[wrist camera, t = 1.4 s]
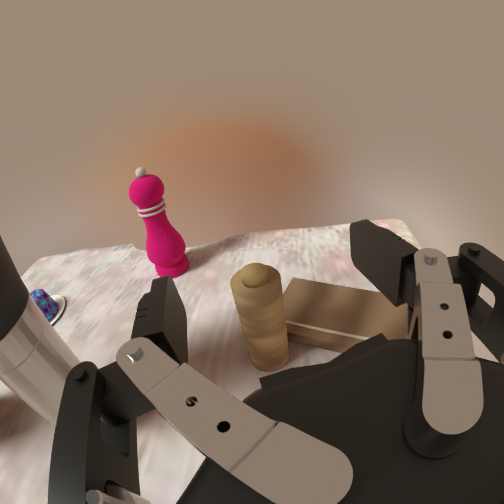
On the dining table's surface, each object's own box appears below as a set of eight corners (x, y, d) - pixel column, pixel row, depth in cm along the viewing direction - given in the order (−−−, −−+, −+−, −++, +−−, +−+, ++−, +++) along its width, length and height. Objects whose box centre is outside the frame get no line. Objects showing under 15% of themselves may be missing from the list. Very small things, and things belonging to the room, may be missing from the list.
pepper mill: (188, 253, 55) (159, 157, 44) (194, 272, 49) (161, 164, 38) (154, 265, 53) (120, 170, 43) (156, 285, 47) (116, 179, 37)
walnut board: (265, 334, 35) (264, 325, 34) (293, 285, 42) (292, 277, 41) (419, 366, 26) (423, 358, 25) (423, 307, 33) (426, 299, 32)
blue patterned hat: (46, 340, 38) (31, 320, 35) (18, 332, 40) (4, 314, 38) (76, 298, 48) (64, 278, 45) (45, 296, 50) (34, 278, 47)
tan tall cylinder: (244, 364, 31) (218, 282, 24) (261, 337, 35) (243, 253, 28) (279, 376, 29) (266, 292, 22) (295, 346, 32) (287, 260, 25)
